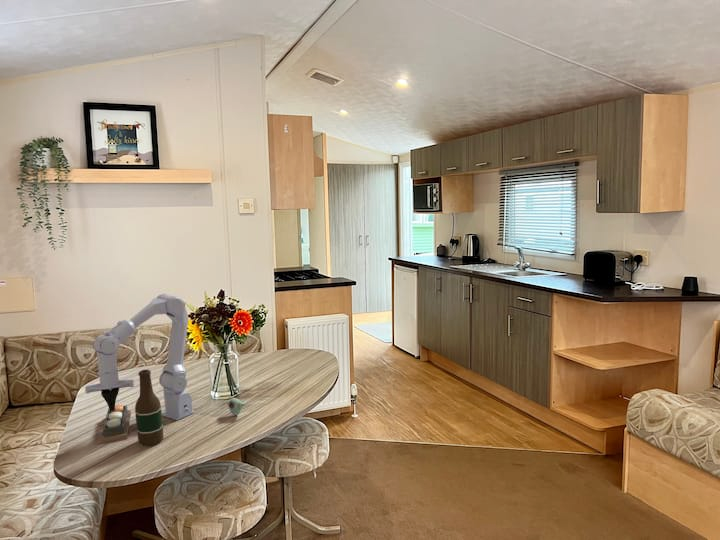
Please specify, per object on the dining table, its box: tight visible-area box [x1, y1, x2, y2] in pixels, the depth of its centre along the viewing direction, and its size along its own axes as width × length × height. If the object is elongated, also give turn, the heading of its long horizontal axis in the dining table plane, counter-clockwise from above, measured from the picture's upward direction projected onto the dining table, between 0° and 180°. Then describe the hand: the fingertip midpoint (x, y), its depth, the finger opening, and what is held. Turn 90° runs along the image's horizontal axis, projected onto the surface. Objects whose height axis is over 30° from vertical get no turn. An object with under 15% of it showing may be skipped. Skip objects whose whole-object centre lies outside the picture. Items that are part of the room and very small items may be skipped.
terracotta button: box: [111, 404, 124, 413], centre depth 194 cm, size 4×4×2 cm
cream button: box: [109, 412, 122, 420], centre depth 188 cm, size 4×4×2 cm
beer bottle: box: [134, 369, 164, 447], centre depth 176 cm, size 8×8×24 cm
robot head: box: [226, 397, 246, 416], centre depth 195 cm, size 8×4×7 cm, turn 62°
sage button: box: [107, 419, 121, 428], centre depth 182 cm, size 4×4×2 cm
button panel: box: [100, 404, 132, 444], centre depth 189 cm, size 22×8×4 cm, turn 20°
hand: (112, 410), depth 181 cm, fingers closed
